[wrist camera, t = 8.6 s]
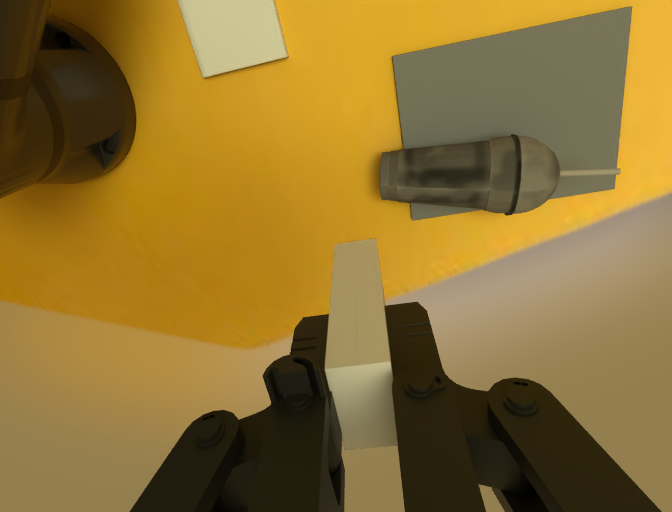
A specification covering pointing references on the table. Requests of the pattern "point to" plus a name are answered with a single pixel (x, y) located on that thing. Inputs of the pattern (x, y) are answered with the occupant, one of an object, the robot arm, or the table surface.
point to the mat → (523, 95)
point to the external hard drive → (233, 33)
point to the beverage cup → (477, 174)
